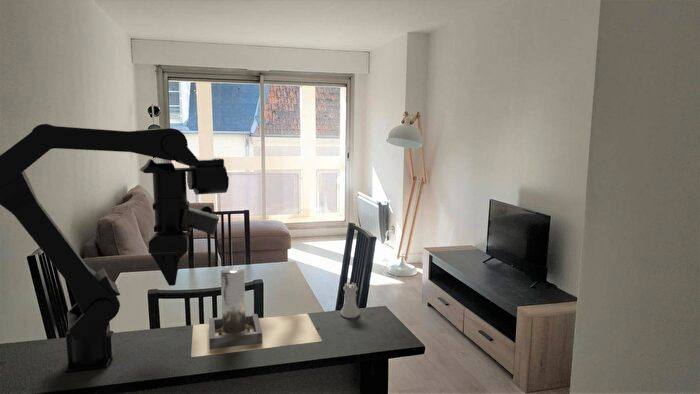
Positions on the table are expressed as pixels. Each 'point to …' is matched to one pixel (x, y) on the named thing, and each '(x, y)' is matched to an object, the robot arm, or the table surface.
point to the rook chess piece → (350, 301)
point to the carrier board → (253, 334)
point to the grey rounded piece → (233, 302)
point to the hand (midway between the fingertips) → (174, 277)
